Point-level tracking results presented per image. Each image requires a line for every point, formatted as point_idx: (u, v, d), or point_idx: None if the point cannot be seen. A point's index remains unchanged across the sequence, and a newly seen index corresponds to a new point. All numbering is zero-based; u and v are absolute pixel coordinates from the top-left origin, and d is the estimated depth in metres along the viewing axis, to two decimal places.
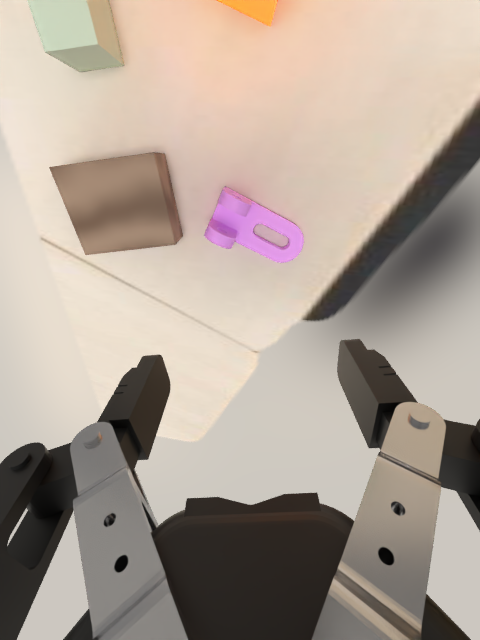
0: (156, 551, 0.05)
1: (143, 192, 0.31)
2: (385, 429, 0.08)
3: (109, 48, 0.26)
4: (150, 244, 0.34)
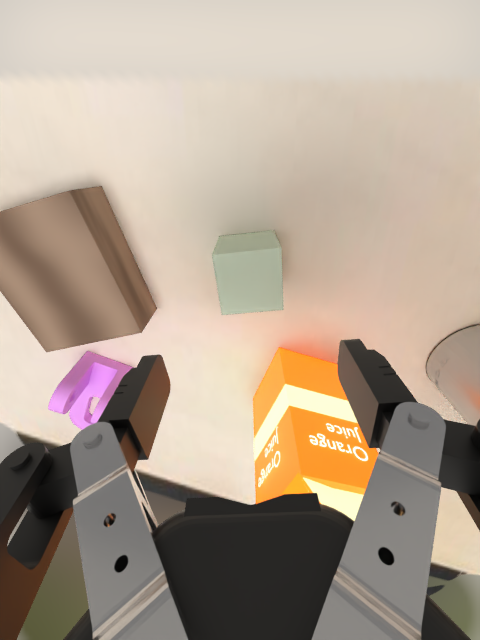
0: (156, 551, 0.05)
1: (92, 320, 0.24)
2: (385, 429, 0.08)
3: None
4: (29, 324, 0.24)
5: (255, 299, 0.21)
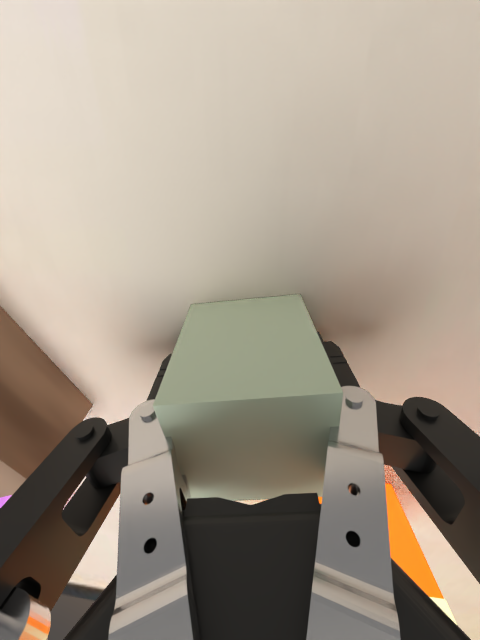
0: (182, 545, 0.05)
1: None
2: None
3: None
4: None
5: (267, 481, 0.09)
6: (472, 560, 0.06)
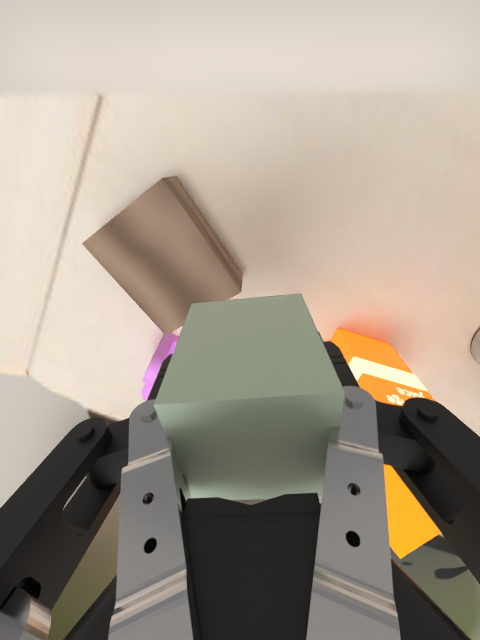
0: (182, 545, 0.05)
1: (198, 292, 0.27)
2: None
3: None
4: (148, 312, 0.28)
5: (268, 481, 0.09)
6: (472, 560, 0.06)
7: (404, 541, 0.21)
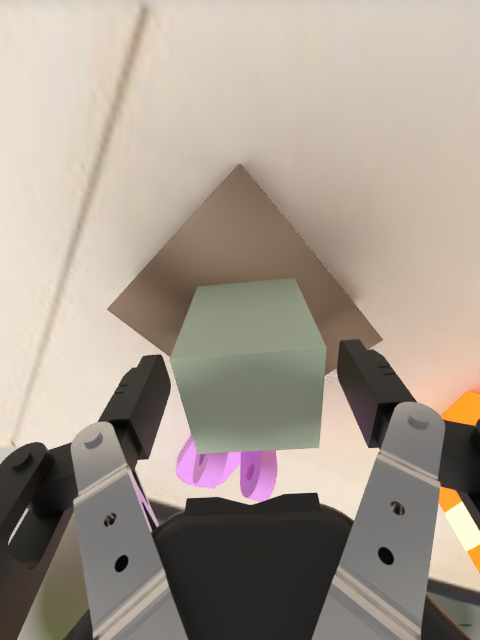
0: (156, 551, 0.05)
1: None
2: (384, 429, 0.08)
3: None
4: None
5: (264, 433, 0.10)
6: None
7: None
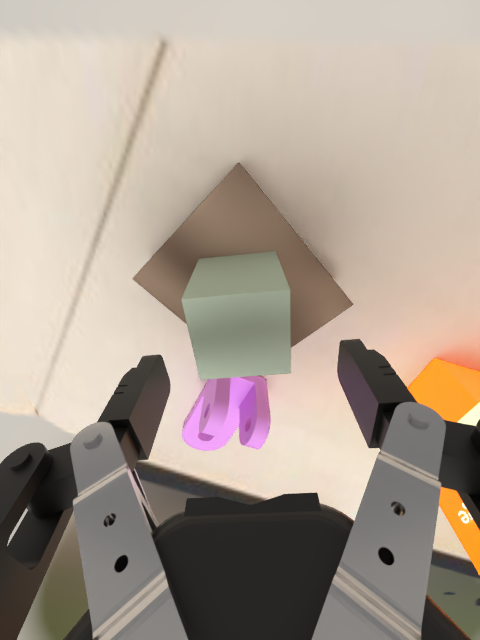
0: (156, 551, 0.05)
1: (292, 315, 0.20)
2: (385, 429, 0.08)
3: None
4: None
5: (249, 360, 0.14)
6: None
7: None
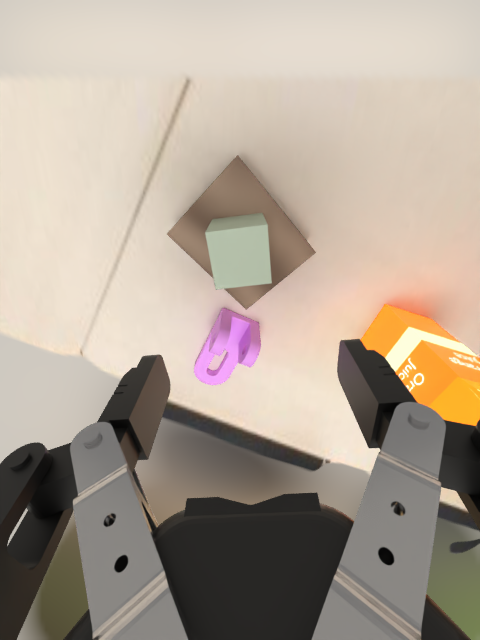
0: (156, 551, 0.05)
1: (275, 261, 0.29)
2: (385, 429, 0.08)
3: None
4: (229, 289, 0.30)
5: (245, 274, 0.23)
6: None
7: None
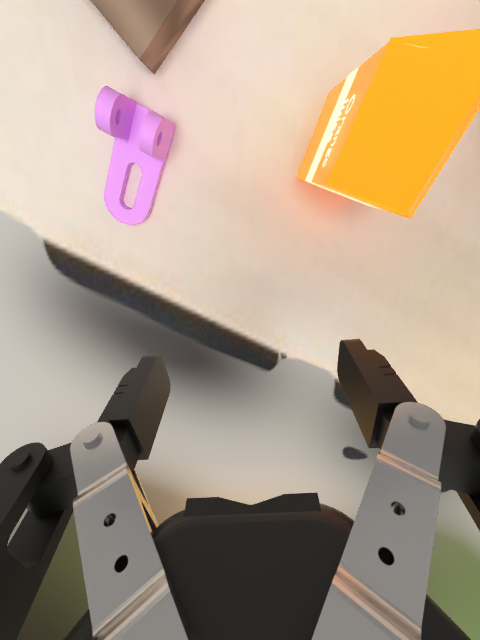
0: (156, 551, 0.05)
1: None
2: (385, 429, 0.08)
3: None
4: (112, 19, 0.23)
5: None
6: None
7: (412, 183, 0.16)
